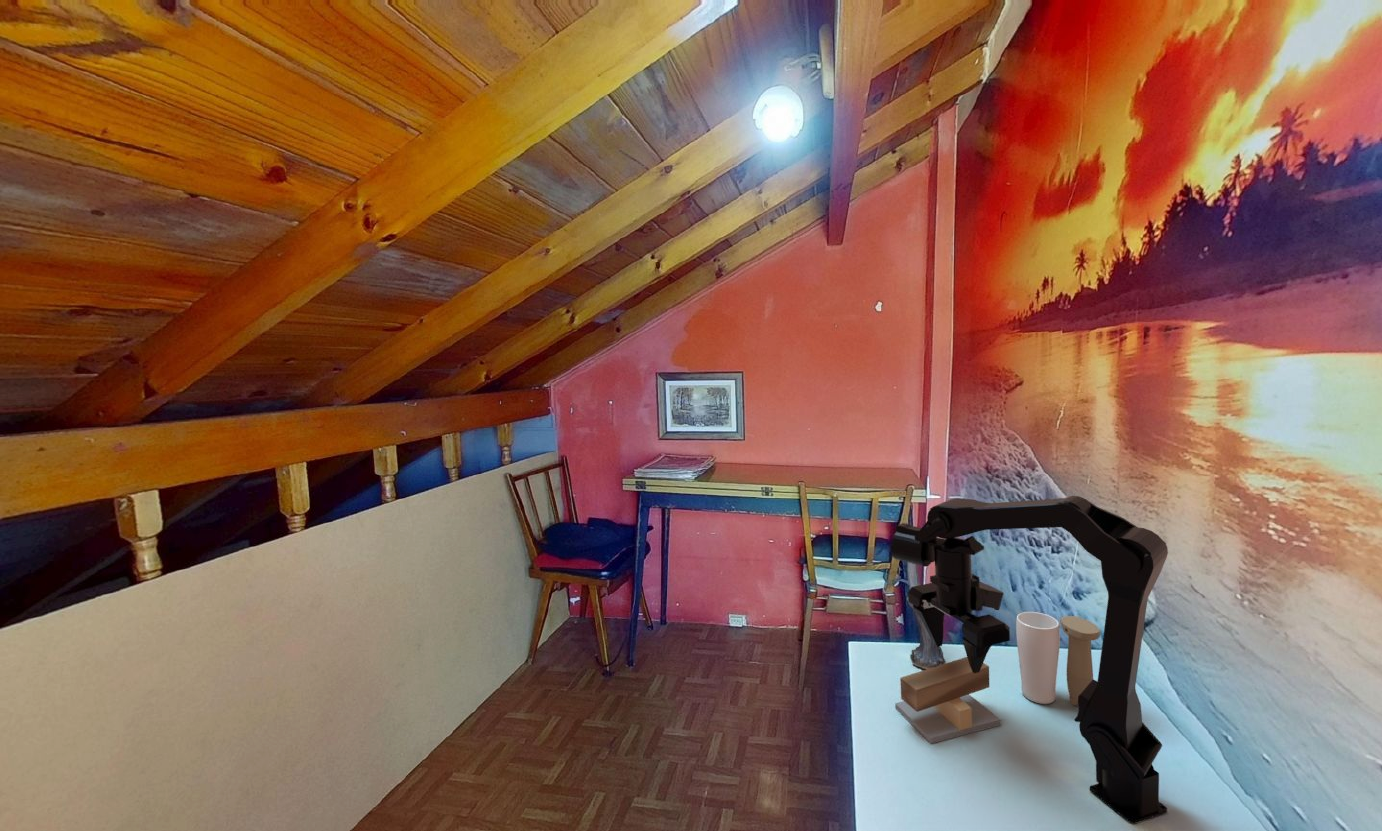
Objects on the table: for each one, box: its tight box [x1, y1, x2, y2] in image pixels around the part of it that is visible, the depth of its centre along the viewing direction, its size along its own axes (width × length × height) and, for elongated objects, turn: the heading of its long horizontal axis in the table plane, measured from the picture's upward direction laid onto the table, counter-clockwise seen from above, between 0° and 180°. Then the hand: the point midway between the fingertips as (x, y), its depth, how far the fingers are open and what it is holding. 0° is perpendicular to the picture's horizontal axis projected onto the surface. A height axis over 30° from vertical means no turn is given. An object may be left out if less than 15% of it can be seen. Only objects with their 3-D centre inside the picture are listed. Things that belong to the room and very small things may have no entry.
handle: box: [1059, 615, 1101, 707], centre depth 100 cm, size 5×6×15 cm
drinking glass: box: [1015, 611, 1061, 705], centre depth 103 cm, size 7×7×15 cm
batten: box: [899, 656, 990, 712], centre depth 99 cm, size 4×16×4 cm, turn 109°
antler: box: [906, 562, 947, 670], centre depth 118 cm, size 12×8×25 cm
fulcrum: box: [894, 694, 1002, 745], centre depth 100 cm, size 10×14×4 cm
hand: (956, 658), depth 98 cm, fingers open, 9 cm apart
